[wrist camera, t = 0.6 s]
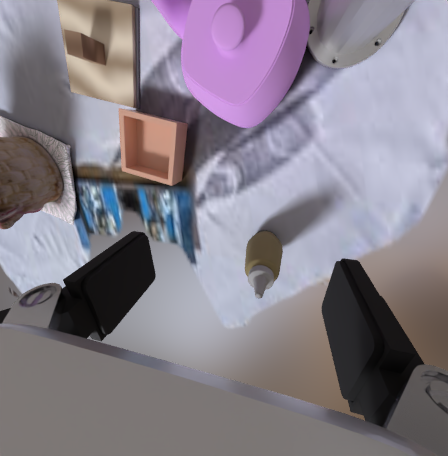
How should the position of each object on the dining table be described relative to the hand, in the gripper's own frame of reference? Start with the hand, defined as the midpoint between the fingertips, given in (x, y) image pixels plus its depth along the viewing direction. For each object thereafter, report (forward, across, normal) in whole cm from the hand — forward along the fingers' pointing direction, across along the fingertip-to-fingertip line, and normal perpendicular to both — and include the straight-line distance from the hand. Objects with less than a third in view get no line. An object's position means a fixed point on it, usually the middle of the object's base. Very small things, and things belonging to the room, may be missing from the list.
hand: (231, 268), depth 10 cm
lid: (+34, +34, -19) cm, 51 cm away
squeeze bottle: (+35, -1, +18) cm, 39 cm away
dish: (+34, +24, -3) cm, 42 cm away
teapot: (+35, +6, -16) cm, 39 cm away
